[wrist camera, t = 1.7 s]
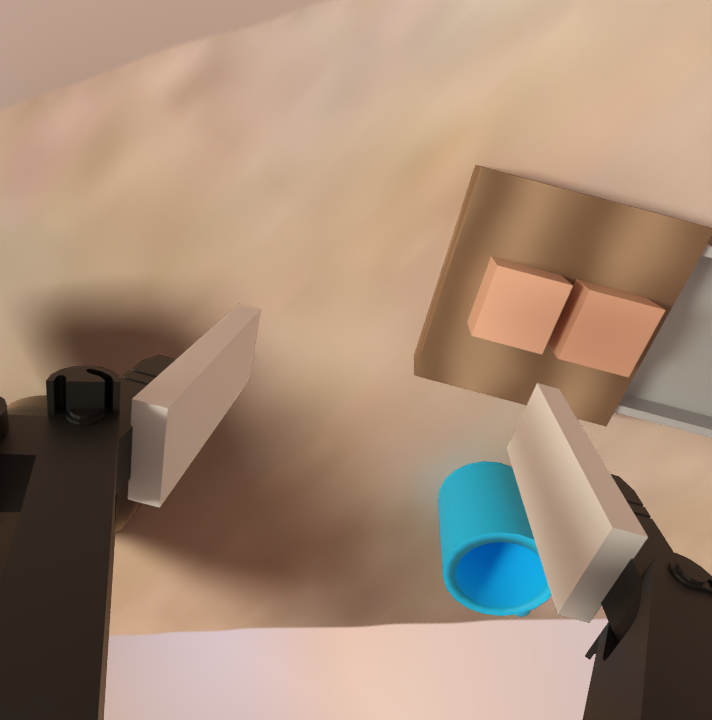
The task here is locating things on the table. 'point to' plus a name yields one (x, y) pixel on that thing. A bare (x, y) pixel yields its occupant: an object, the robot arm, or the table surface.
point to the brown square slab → (557, 255)
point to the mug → (489, 542)
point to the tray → (679, 362)
